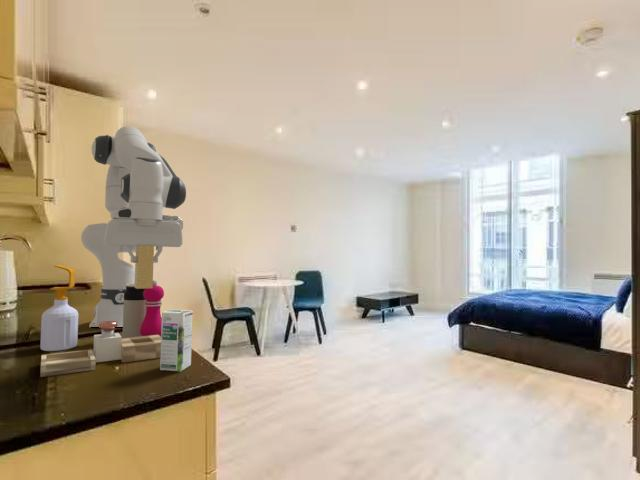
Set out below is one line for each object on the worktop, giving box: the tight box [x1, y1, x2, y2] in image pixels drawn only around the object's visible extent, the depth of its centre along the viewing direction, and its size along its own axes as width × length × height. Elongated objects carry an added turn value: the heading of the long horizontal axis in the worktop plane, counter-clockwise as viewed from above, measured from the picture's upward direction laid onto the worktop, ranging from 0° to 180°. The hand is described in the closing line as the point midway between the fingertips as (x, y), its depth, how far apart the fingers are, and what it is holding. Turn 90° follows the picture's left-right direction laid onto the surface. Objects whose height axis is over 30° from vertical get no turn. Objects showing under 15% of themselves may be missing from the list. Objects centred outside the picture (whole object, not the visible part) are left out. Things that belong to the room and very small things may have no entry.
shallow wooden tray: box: [39, 348, 97, 378], centre depth 96 cm, size 11×11×2 cm
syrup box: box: [159, 309, 194, 372], centre depth 98 cm, size 6×6×14 cm
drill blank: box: [134, 245, 155, 289], centre depth 109 cm, size 4×4×12 cm
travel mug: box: [121, 284, 146, 338], centre depth 127 cm, size 8×8×18 cm
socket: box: [120, 335, 161, 363], centre depth 109 cm, size 11×11×4 cm
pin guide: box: [92, 332, 122, 363], centre depth 105 cm, size 6×6×6 cm
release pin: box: [98, 321, 117, 338], centre depth 105 cm, size 4×4×9 cm
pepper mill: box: [140, 279, 165, 337], centre depth 121 cm, size 7×7×20 cm
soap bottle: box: [39, 264, 79, 352], centre depth 114 cm, size 9×9×25 cm
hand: (144, 262), depth 109 cm, fingers closed on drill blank, 4 cm apart
